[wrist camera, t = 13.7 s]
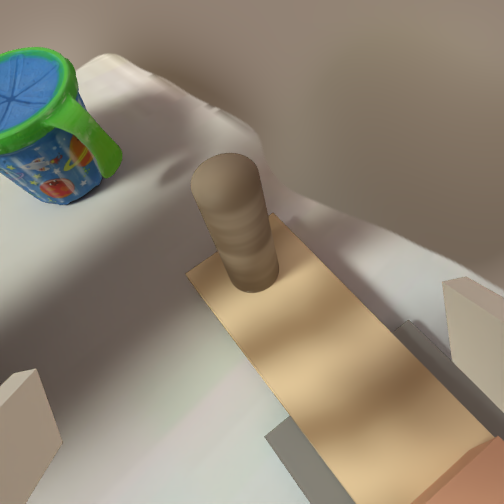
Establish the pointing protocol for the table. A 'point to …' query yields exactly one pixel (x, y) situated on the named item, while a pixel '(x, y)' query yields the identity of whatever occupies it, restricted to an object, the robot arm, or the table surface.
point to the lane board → (316, 470)
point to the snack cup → (49, 129)
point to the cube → (471, 478)
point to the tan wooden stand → (323, 348)
